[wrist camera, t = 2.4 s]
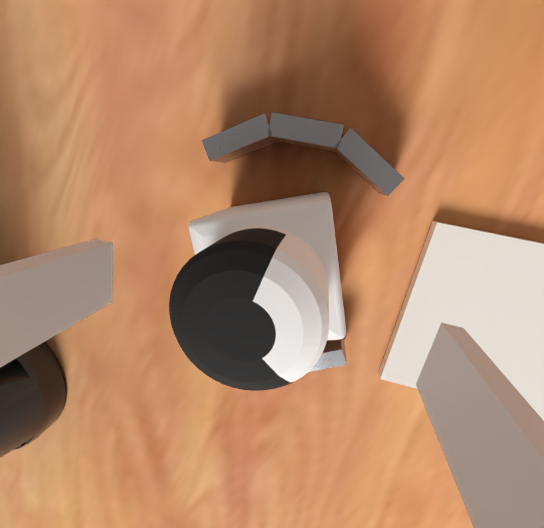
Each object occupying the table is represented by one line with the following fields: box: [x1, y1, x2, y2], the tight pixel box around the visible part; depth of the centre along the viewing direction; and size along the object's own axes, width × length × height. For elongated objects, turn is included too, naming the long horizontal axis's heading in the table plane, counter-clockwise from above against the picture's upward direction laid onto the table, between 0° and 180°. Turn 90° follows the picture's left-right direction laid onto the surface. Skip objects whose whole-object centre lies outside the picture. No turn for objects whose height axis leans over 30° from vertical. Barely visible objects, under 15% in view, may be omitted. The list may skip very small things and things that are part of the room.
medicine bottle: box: [169, 192, 346, 390], centre depth 16 cm, size 7×7×12 cm
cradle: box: [202, 112, 405, 372], centre depth 20 cm, size 12×16×3 cm
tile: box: [379, 221, 544, 421], centre depth 20 cm, size 12×12×1 cm
